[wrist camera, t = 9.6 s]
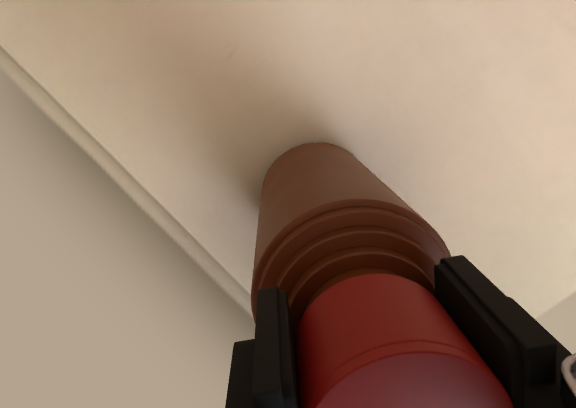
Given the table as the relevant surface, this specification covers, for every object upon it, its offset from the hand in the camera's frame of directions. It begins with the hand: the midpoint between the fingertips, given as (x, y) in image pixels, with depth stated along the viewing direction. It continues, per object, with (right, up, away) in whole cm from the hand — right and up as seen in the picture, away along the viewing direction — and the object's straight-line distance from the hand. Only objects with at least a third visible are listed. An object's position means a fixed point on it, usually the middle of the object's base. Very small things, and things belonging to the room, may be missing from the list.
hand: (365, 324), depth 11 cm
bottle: (0, +4, +13) cm, 14 cm away
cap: (0, 0, 0) cm, 1 cm away
